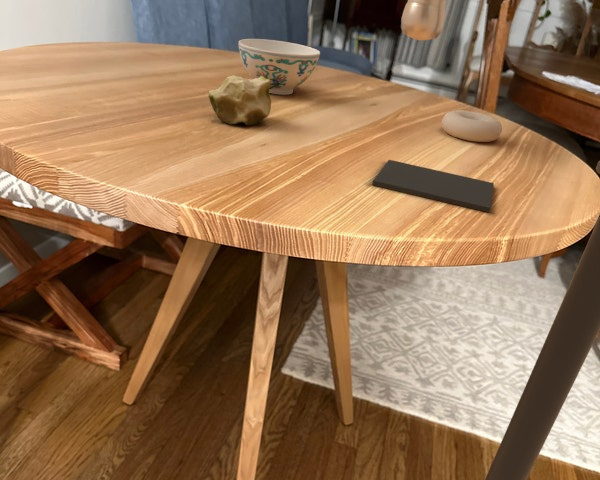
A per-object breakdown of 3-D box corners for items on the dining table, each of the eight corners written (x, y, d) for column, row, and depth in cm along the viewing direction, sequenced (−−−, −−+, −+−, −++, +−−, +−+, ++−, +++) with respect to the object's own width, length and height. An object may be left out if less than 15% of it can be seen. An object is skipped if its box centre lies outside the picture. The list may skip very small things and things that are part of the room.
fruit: (272, 126, 90) (286, 77, 85) (252, 145, 83) (266, 92, 78) (220, 104, 91) (230, 54, 86) (195, 121, 83) (205, 67, 78)
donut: (431, 134, 94) (490, 148, 90) (436, 113, 93) (496, 126, 89) (450, 125, 102) (505, 138, 98) (455, 105, 100) (511, 117, 96)
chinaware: (328, 94, 110) (334, 52, 106) (287, 104, 99) (293, 57, 95) (264, 78, 116) (268, 37, 112) (219, 85, 105) (221, 40, 101)
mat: (492, 187, 74) (493, 183, 73) (489, 212, 65) (490, 207, 65) (387, 163, 77) (388, 159, 76) (371, 185, 68) (372, 180, 68)
